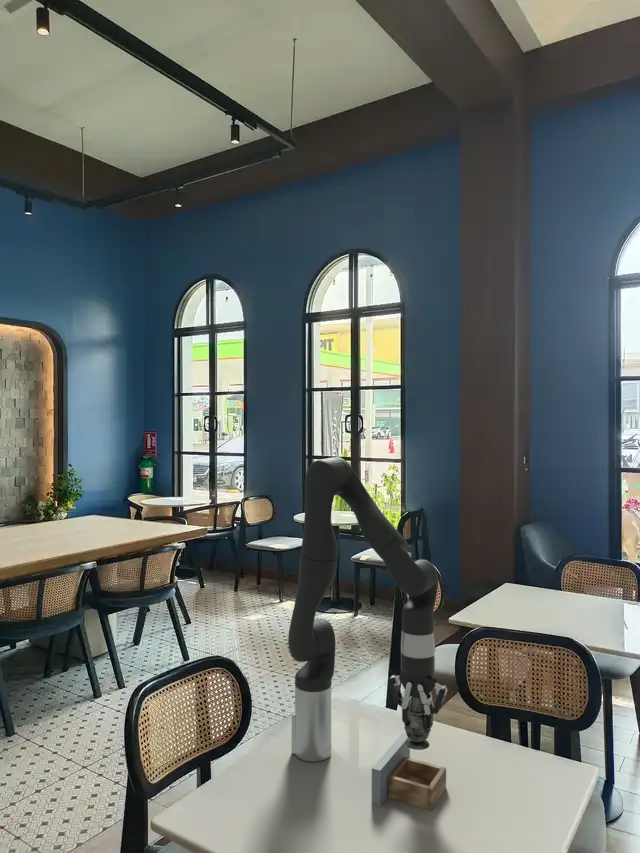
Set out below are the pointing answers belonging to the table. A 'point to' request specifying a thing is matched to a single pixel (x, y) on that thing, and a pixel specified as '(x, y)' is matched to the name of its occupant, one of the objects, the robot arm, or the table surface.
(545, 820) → the table surface
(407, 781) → the socket block
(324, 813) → the table surface
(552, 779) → the table surface
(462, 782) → the table surface
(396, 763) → the backstop board
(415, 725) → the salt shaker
